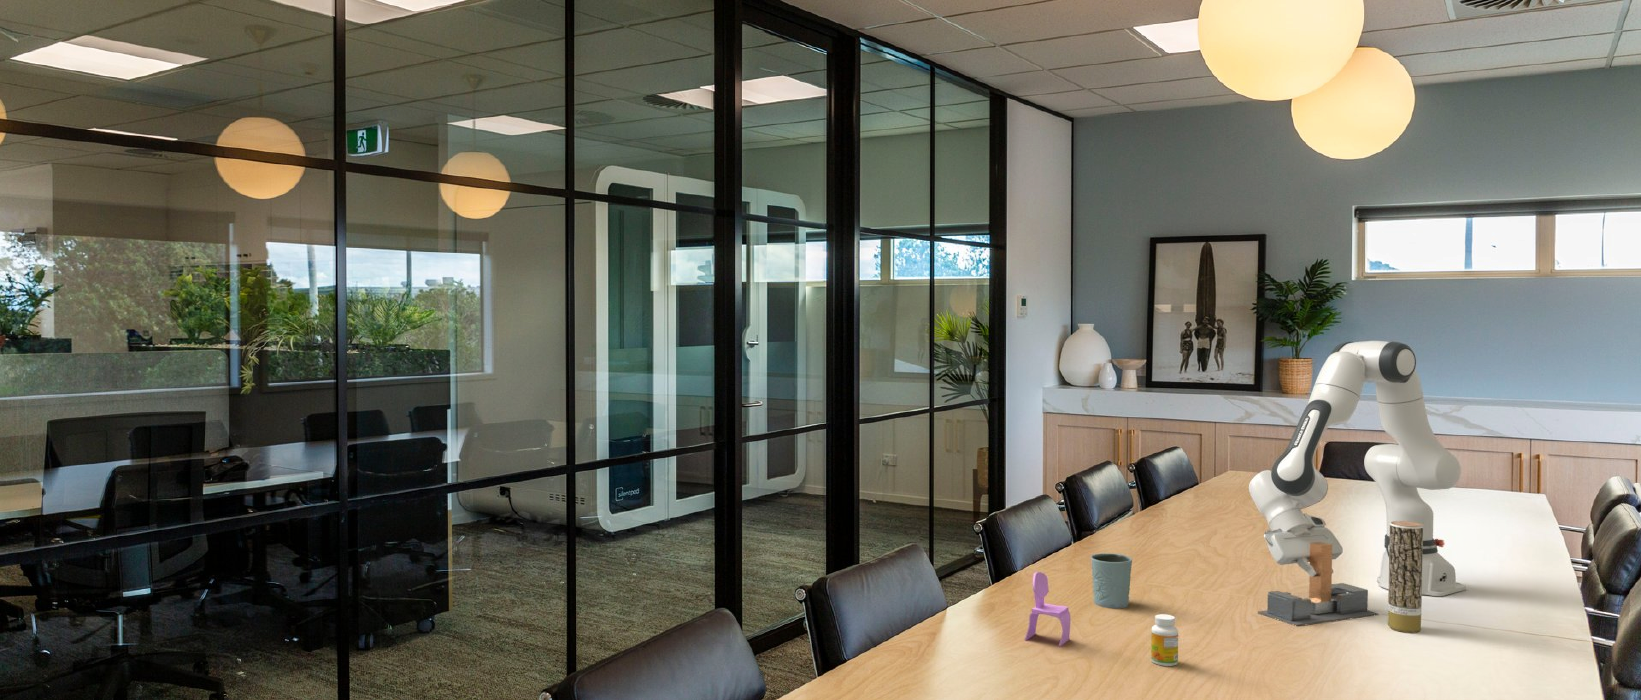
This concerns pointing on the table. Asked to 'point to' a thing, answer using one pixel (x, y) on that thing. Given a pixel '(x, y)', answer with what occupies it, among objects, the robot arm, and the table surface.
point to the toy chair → (1047, 609)
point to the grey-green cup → (1111, 579)
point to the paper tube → (1405, 576)
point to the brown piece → (1321, 579)
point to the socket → (1288, 606)
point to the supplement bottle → (1164, 641)
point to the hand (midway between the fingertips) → (1322, 574)
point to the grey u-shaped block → (1350, 598)
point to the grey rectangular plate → (1323, 617)
